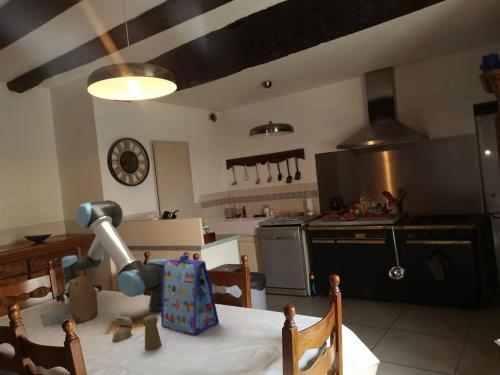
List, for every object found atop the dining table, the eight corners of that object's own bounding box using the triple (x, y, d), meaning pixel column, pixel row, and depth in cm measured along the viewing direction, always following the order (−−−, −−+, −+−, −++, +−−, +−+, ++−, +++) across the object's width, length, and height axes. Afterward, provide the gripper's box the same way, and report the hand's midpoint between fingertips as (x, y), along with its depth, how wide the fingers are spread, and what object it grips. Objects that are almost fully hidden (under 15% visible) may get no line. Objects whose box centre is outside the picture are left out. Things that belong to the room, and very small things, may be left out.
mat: (80, 317, 176) (80, 316, 176) (44, 327, 167) (44, 326, 167) (72, 306, 196) (72, 305, 196) (40, 314, 187) (40, 313, 187)
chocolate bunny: (133, 337, 143) (130, 312, 142) (112, 343, 140) (109, 317, 140) (133, 332, 148) (130, 308, 148) (112, 337, 145) (109, 312, 145)
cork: (146, 352, 128) (142, 321, 128) (143, 346, 134) (139, 316, 133) (163, 346, 131) (160, 316, 131) (159, 341, 136) (156, 312, 136)
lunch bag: (220, 323, 147) (211, 252, 147) (194, 336, 137) (185, 260, 136) (185, 315, 161) (177, 250, 161) (159, 327, 151) (151, 257, 151)
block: (76, 325, 165) (71, 281, 165) (71, 321, 170) (65, 279, 170) (100, 316, 173) (95, 274, 172) (94, 314, 178) (89, 273, 178)
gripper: (101, 289, 196) (111, 297, 178) (48, 302, 182) (53, 312, 164) (99, 275, 196) (109, 281, 178) (47, 287, 182) (51, 295, 164)
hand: (82, 296), depth 171 cm, fingers open, 13 cm apart
